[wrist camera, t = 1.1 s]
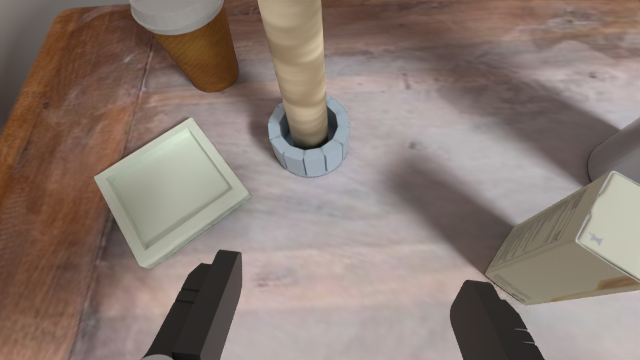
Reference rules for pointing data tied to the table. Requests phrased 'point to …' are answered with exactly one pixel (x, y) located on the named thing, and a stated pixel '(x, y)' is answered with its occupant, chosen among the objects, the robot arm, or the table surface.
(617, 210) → the skincare box
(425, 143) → the table surface
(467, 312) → the robot arm
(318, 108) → the dowel
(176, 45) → the disposable coffee cup
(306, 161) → the holder
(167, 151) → the tray
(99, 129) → the table surface
